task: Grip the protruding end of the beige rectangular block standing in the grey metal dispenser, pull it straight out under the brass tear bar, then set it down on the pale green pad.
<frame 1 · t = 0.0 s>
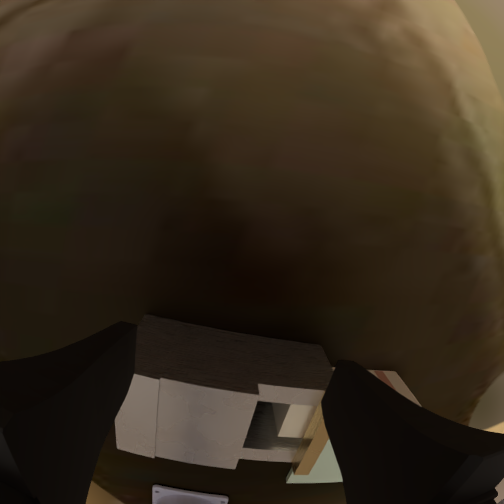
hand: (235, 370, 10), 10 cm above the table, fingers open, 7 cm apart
dispenser: (242, 373, 22), on the table
beige rectangular block: (335, 382, 23), on the table
pad: (349, 449, 25), on the table
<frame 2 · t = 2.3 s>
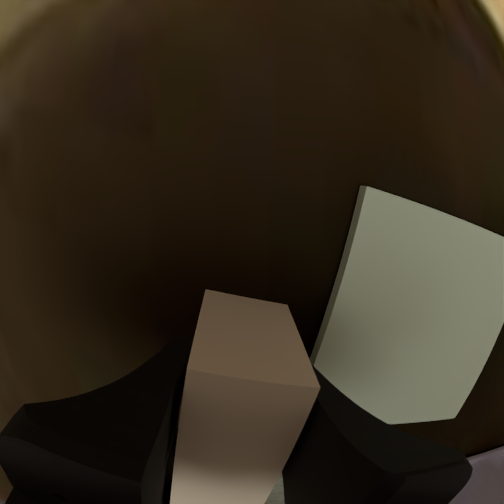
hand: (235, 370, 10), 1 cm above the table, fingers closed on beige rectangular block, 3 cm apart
dispenser: (201, 488, 14), on the table
beige rectangular block: (222, 402, 12), on the table, touching gripper
pad: (424, 330, 12), on the table
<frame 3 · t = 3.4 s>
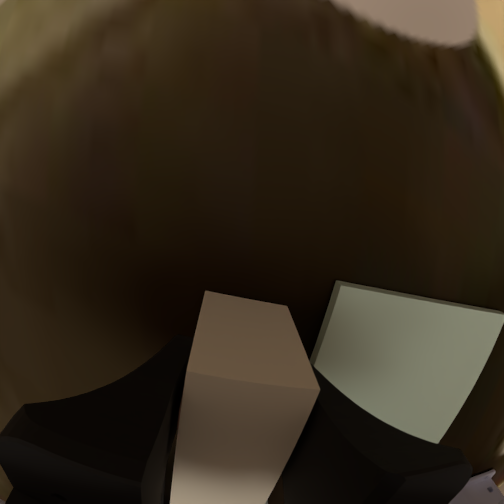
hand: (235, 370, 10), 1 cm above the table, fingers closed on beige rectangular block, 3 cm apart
beige rectangular block: (222, 403, 12), on the table, touching gripper
pad: (395, 394, 13), on the table
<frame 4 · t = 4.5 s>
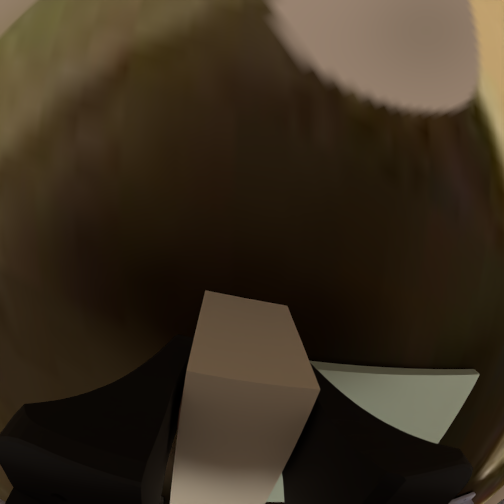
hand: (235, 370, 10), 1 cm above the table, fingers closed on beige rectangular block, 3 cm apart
beige rectangular block: (222, 403, 12), on the table, touching gripper
pad: (366, 443, 14), on the table
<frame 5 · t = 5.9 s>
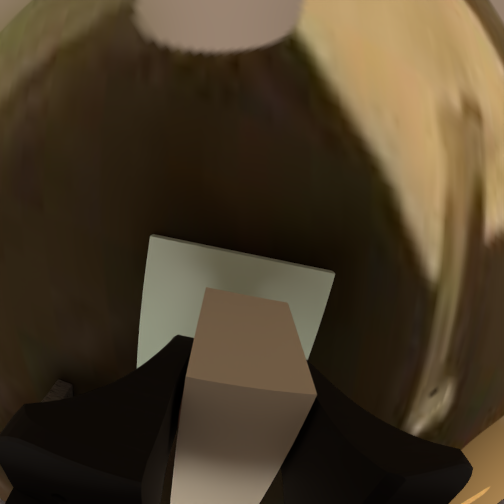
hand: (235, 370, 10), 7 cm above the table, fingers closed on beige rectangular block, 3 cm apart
dispenser: (101, 436, 20), on the table
beige rectangular block: (222, 396, 13), point 5 cm above the table, touching gripper
pad: (226, 335, 18), on the table
when the fingers open (4 cm above the table, at t = 6.8 s): beige rectangular block drops 1 cm, resting on pad.
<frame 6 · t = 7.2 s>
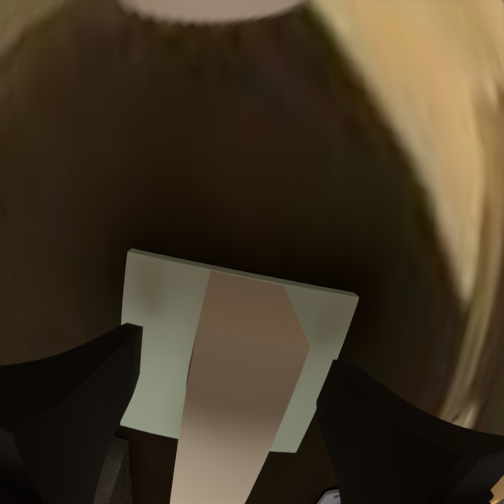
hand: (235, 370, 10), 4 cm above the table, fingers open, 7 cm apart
dispenser: (88, 468, 16), on the table
beige rectangular block: (223, 377, 14), point 1 cm above the table, touching pad
pad: (224, 369, 14), on the table
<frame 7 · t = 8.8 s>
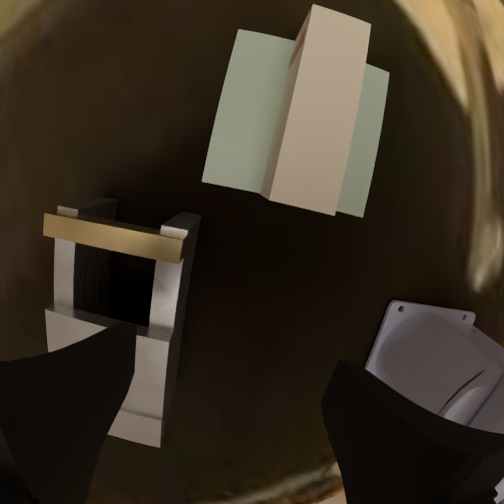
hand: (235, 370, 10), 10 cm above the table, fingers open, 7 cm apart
dispenser: (139, 281, 20), on the table
beige rectangular block: (303, 118, 17), point 1 cm above the table, touching pad
pad: (301, 119, 18), on the table
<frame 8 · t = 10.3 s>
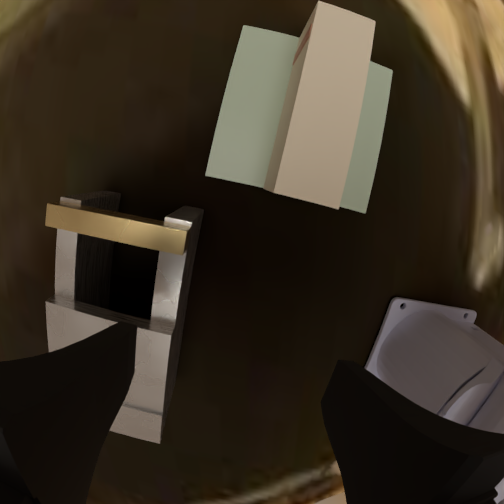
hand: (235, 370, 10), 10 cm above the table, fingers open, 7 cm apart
dispenser: (140, 275, 20), on the table
beige rectangular block: (307, 114, 17), point 1 cm above the table, touching pad
pad: (305, 115, 18), on the table
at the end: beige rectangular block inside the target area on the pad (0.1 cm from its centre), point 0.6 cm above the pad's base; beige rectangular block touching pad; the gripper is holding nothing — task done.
